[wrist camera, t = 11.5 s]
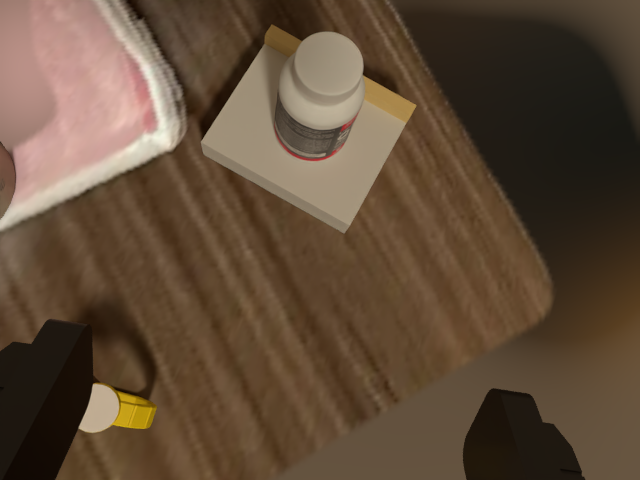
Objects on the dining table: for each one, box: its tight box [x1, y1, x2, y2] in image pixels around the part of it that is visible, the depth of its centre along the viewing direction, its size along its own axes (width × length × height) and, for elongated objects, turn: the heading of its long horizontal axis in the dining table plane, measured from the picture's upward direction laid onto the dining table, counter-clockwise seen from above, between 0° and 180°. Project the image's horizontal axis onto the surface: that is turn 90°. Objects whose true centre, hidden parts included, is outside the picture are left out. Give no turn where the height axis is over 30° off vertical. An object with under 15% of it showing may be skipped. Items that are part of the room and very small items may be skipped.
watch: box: [79, 383, 157, 433], centre depth 37 cm, size 6×3×6 cm, turn 74°
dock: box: [201, 25, 417, 233], centre depth 43 cm, size 12×10×4 cm
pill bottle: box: [274, 32, 365, 163], centre depth 38 cm, size 5×5×10 cm
